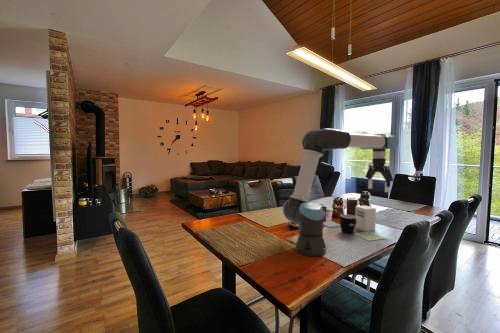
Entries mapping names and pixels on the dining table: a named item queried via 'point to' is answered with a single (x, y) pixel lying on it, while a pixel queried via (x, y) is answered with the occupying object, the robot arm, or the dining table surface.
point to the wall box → (365, 217)
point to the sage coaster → (369, 236)
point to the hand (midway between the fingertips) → (378, 190)
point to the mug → (347, 223)
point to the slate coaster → (331, 224)
